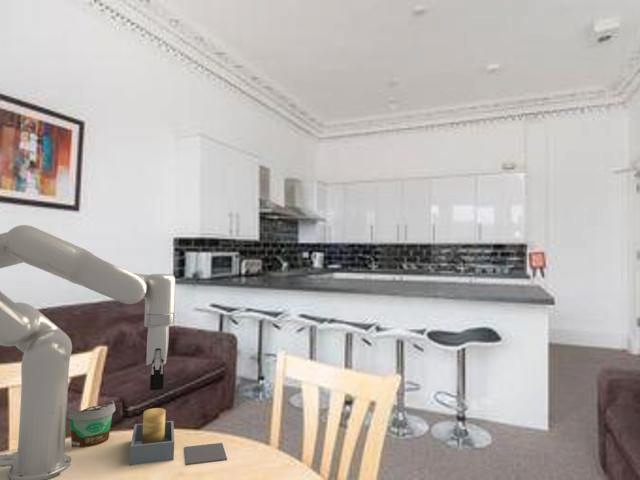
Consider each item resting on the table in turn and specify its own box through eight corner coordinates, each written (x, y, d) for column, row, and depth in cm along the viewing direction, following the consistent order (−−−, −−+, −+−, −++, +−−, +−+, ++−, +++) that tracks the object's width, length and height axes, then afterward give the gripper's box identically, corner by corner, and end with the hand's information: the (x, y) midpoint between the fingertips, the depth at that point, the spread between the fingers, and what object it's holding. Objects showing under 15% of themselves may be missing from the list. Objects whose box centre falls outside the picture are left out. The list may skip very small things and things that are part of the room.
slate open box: (129, 467, 106) (130, 446, 106) (133, 442, 119) (134, 424, 120) (173, 461, 109) (174, 441, 109) (172, 438, 123) (173, 420, 123)
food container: (76, 455, 111) (78, 416, 111) (65, 448, 115) (67, 410, 115) (122, 440, 121) (124, 404, 121) (111, 434, 124) (113, 399, 125)
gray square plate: (186, 467, 107) (186, 463, 107) (184, 449, 116) (184, 446, 116) (226, 461, 110) (227, 458, 110) (222, 445, 119) (222, 442, 119)
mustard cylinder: (141, 455, 111) (143, 416, 111) (142, 446, 116) (144, 409, 116) (163, 453, 113) (165, 414, 113) (163, 444, 118) (165, 407, 118)
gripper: (145, 316, 123) (143, 376, 122) (142, 325, 107) (139, 395, 106) (173, 315, 125) (171, 374, 125) (174, 324, 109) (172, 392, 108)
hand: (156, 384), depth 115 cm, fingers open, 9 cm apart
